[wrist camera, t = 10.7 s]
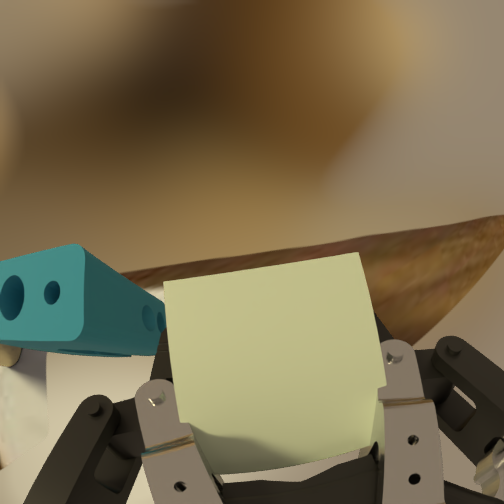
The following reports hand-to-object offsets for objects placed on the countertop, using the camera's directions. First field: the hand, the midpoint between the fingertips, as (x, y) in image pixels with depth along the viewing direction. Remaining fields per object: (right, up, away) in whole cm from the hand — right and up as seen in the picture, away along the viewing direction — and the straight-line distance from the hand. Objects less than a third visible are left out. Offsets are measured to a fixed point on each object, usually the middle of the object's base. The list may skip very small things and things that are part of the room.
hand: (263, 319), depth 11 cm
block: (-14, -7, +19) cm, 25 cm away
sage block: (0, -3, +3) cm, 4 cm away
